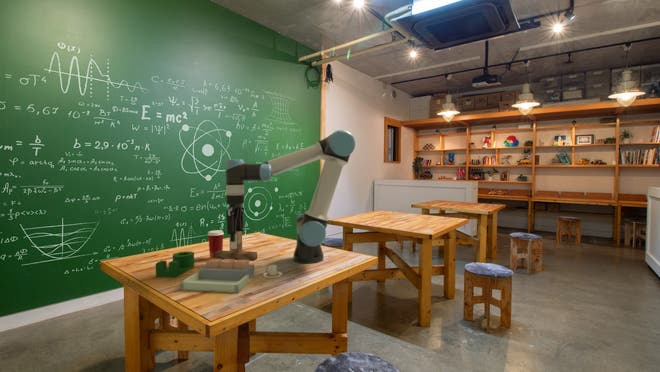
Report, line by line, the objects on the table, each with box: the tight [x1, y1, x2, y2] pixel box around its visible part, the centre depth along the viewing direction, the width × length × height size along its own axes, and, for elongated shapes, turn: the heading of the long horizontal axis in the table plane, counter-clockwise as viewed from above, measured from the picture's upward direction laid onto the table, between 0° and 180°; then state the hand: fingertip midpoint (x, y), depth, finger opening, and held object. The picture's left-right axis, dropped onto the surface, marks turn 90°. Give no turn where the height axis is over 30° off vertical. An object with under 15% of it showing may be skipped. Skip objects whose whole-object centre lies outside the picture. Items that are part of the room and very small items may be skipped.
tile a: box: [234, 260, 250, 269], centre depth 133 cm, size 4×4×2 cm
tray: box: [179, 272, 250, 294], centre depth 124 cm, size 22×11×3 cm, turn 82°
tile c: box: [205, 258, 223, 268], centre depth 135 cm, size 4×4×2 cm
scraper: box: [215, 231, 258, 262], centre depth 142 cm, size 18×4×12 cm, turn 81°
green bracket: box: [155, 251, 195, 278], centre depth 143 cm, size 18×9×6 cm, turn 175°
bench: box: [198, 263, 255, 281], centre depth 134 cm, size 20×9×4 cm, turn 83°
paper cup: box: [206, 229, 225, 260], centre depth 161 cm, size 8×8×14 cm
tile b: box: [220, 259, 236, 268], centre depth 134 cm, size 4×4×2 cm
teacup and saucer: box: [262, 264, 283, 279], centre depth 138 cm, size 9×8×4 cm
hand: (236, 247), depth 142 cm, fingers closed on scraper, 4 cm apart
